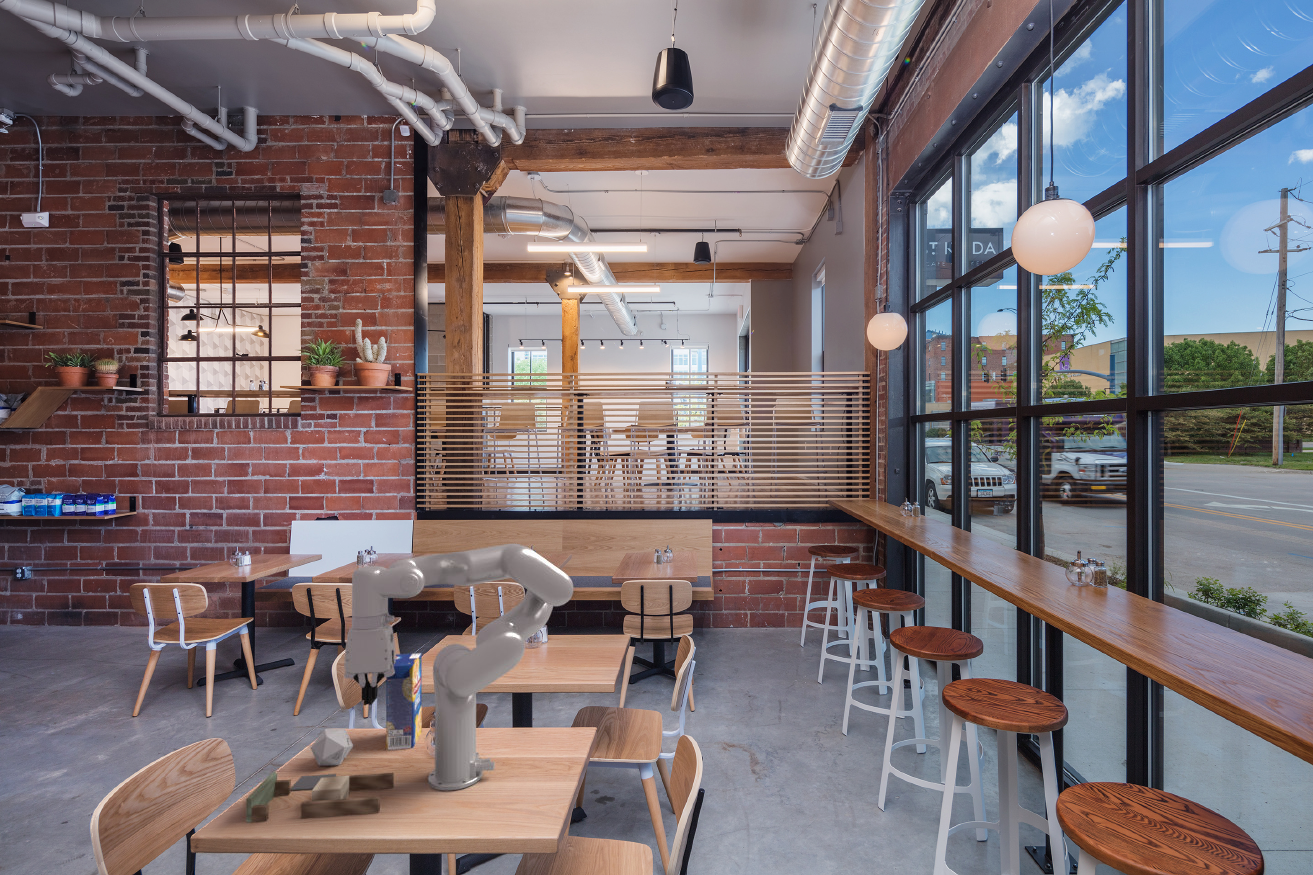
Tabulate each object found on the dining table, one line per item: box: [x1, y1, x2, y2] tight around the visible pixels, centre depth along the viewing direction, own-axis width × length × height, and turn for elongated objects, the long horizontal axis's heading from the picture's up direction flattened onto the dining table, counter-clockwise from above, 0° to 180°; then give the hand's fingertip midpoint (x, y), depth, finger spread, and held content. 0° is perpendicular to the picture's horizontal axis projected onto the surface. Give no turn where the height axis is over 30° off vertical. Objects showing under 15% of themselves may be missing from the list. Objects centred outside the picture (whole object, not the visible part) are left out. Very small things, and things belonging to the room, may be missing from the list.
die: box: [310, 728, 354, 767], centre depth 167 cm, size 8×9×10 cm
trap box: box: [245, 771, 395, 823], centre depth 147 cm, size 27×12×5 cm, turn 97°
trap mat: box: [291, 773, 337, 792], centre depth 156 cm, size 8×7×1 cm
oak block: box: [311, 775, 350, 801], centre depth 147 cm, size 6×6×4 cm
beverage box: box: [385, 652, 423, 751], centre depth 180 cm, size 7×11×22 cm, turn 8°
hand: (369, 702), depth 149 cm, fingers closed
